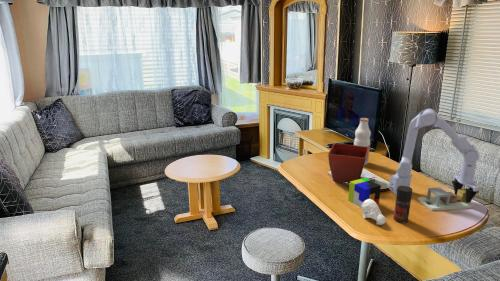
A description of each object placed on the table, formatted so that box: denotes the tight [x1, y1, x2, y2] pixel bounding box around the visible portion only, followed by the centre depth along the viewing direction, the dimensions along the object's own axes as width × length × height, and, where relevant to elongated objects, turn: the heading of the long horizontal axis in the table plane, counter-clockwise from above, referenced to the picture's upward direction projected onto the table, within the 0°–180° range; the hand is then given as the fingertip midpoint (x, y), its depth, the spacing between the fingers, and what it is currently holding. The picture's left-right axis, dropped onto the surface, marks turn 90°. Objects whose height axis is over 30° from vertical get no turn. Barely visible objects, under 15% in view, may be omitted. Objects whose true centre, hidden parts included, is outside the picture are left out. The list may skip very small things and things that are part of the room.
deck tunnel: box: [417, 186, 474, 212], centre depth 176 cm, size 21×11×7 cm, turn 99°
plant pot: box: [327, 143, 368, 184], centre depth 203 cm, size 19×19×17 cm
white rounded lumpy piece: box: [360, 199, 387, 226], centre depth 161 cm, size 6×8×12 cm
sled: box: [440, 188, 466, 203], centre depth 177 cm, size 12×4×5 cm, turn 99°
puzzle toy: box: [347, 177, 382, 209], centre depth 177 cm, size 10×10×10 cm
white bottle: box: [353, 117, 372, 166], centre depth 224 cm, size 9×9×28 cm
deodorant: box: [393, 186, 413, 224], centre depth 161 cm, size 6×6×15 cm
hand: (462, 198), depth 178 cm, fingers open, 7 cm apart
